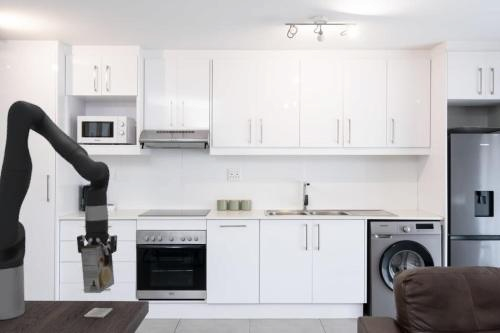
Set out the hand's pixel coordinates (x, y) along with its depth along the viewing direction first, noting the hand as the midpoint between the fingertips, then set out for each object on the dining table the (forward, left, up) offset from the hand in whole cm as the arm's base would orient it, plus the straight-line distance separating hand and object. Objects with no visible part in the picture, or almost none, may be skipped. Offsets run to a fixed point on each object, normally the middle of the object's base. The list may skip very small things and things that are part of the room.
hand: (97, 264), depth 134 cm
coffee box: (0, 0, -9) cm, 9 cm away
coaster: (0, 0, -17) cm, 17 cm away
